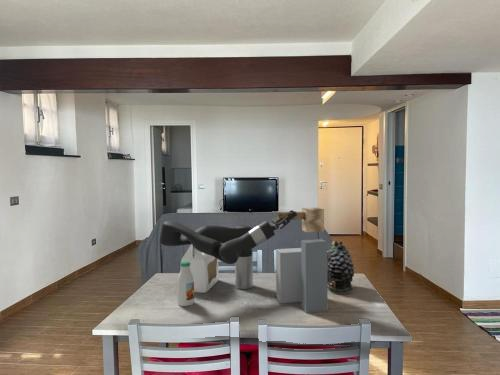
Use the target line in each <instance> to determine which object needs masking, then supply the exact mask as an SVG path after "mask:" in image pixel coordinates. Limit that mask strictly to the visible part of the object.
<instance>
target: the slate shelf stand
mask: <svg viewBox="0 0 500 375" xmlns="http://www.w3.org/2000/svg"><path fill="white" fill-rule="evenodd" d="M300 246H301V247H296V248H293V247H292V248H276V249H275V268H276V270H275V278H276V279H275V280H276V284H275V286H276V288H275V289H276V292H275V293H276V299H277V300H278V302H279V303H280V304H289V303H301V309H302V310H303V311H304V312H305V313H306V314H309V313H319V312H328V309H329V308H328V306H329V305H328V296H329V294H328V290H329V289H328V285H327V252H328V241H326V240H324V239H319V238H318V239H304V240H303V239H302V240H301V241H300Z"/></svg>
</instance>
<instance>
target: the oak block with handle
mask: <svg viewBox="0 0 500 375" xmlns="http://www.w3.org/2000/svg"><path fill="white" fill-rule="evenodd" d="M295 212H296V214H297V216H295V217H294V218H292V219H290V221H294V220H295V221H296V220H297V221H298V220H301V230H302V231H303V232H304V233H324V232H325V209H324V208H321V207H302V208H301V211H295ZM290 213H291V212H289V211H285V212H284V211H283V212H280V211H279V212H276V217H277V219H279V218H281V217H285V216H286V215H288V214H290Z"/></svg>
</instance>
